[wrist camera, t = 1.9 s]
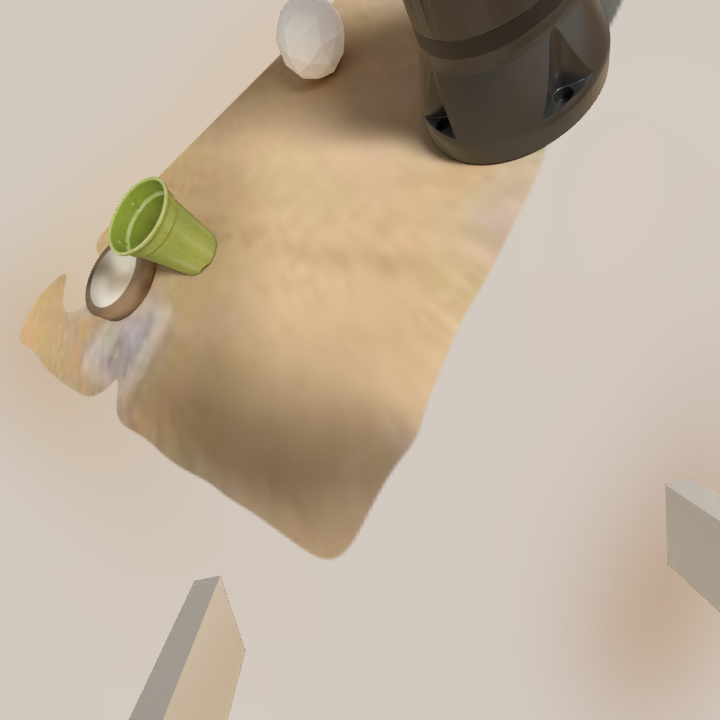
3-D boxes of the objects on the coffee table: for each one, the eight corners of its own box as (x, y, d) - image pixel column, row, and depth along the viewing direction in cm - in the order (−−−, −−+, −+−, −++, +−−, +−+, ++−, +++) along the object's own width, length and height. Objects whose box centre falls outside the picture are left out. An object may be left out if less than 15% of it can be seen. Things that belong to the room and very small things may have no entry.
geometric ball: (338, 99, 51) (290, 90, 45) (303, 54, 52) (252, 40, 46) (370, 36, 45) (320, 17, 40) (331, -13, 47) (277, -38, 41)
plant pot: (215, 288, 47) (149, 251, 40) (165, 289, 52) (97, 256, 45) (235, 217, 49) (176, 170, 42) (185, 225, 54) (123, 183, 47)
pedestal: (115, 246, 61) (101, 239, 59) (165, 239, 55) (151, 230, 53) (90, 321, 59) (74, 315, 57) (140, 321, 53) (125, 315, 51)
